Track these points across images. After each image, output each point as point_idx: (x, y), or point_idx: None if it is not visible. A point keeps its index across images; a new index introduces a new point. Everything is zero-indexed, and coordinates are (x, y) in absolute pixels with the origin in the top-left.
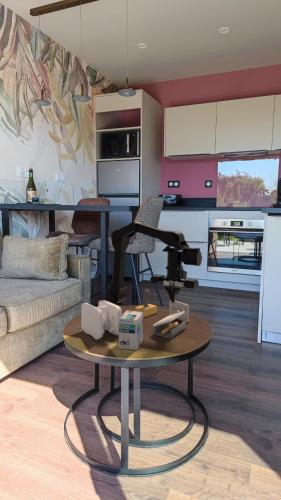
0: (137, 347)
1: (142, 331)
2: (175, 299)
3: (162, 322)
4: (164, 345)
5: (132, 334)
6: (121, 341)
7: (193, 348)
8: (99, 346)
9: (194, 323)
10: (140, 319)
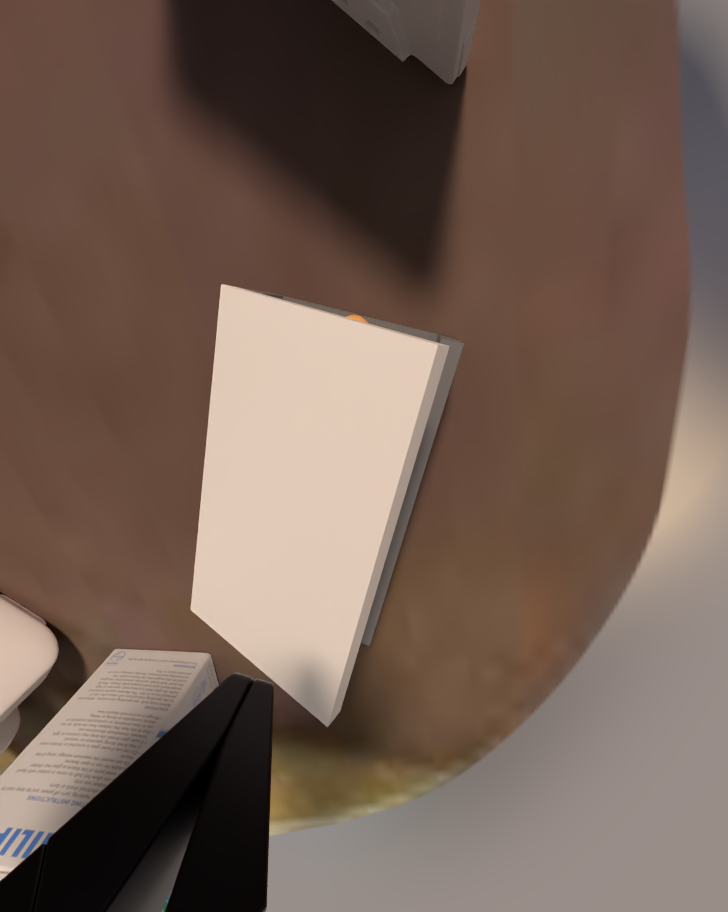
0: None
1: (182, 715)
2: (269, 762)
3: (266, 665)
4: (355, 698)
5: None
6: None
7: (534, 706)
8: None
9: (547, 96)
10: None
